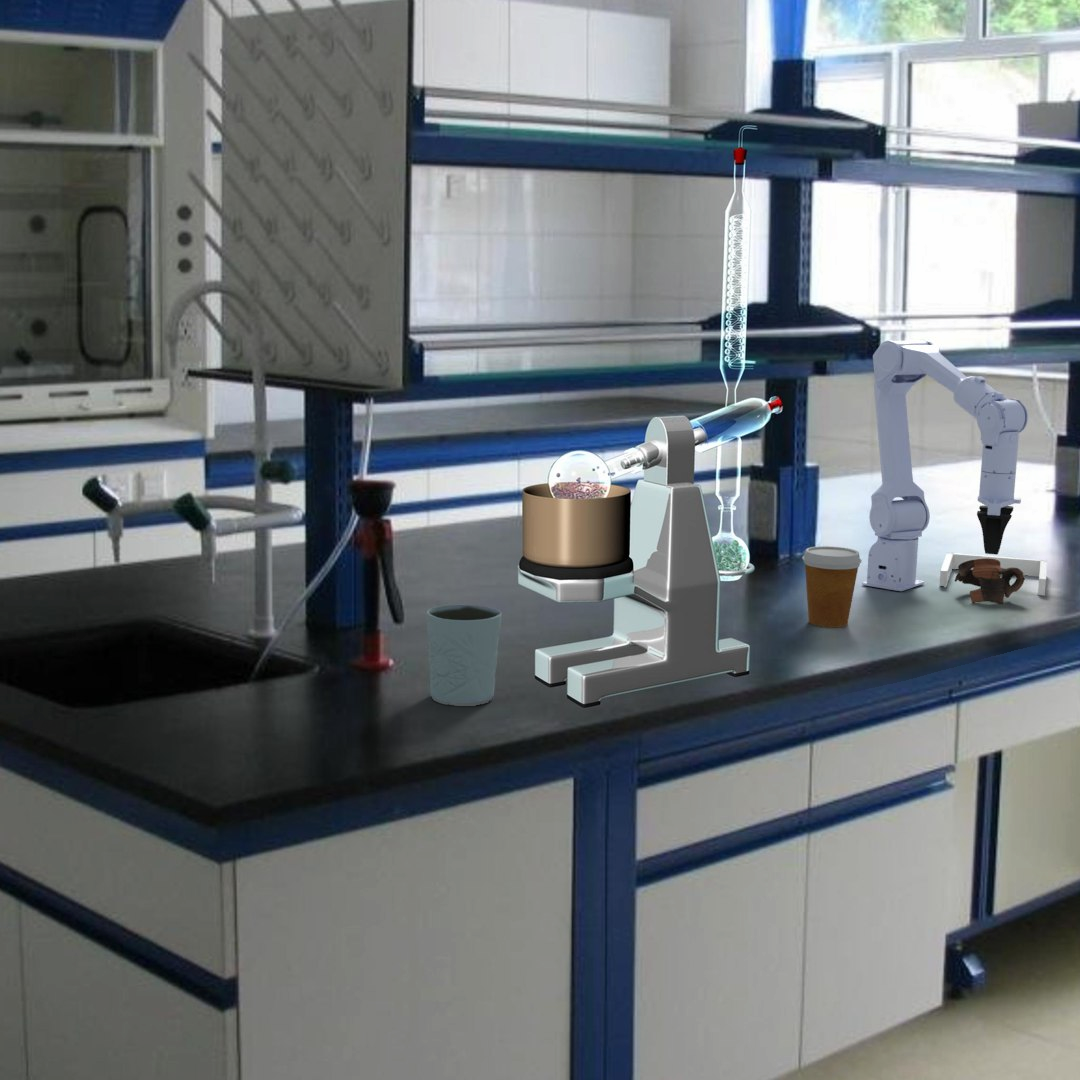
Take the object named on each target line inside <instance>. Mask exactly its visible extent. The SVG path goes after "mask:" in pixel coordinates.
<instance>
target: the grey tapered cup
mask: <svg viewBox="0 0 1080 1080" xmlns="http://www.w3.org/2000/svg"><path fill="white" fill-rule="evenodd" d="M502 614H503V613H502V611H500V610H499V609H496V608H493V607H490V606H489V607H488V606H484V605H477V604H449V605H448V604H446V605H439V606H435V607H431V608H429V609H428V610H427V611H426V615H425V616H426V626H427V634H428V636H427V639H428V643H429V644H428V662H429V663H428V666H429V683H430V684H429V688H430V691H429V692H430V697H431V696H432V697H433V698H434V699H437V700H440V701H444V702H449V703H474V702H481V701H486V700H489V699H491V698H492V697H493V696H495V685H496V677H495V676H496V670H497V664H498V663H497V660H498V654H499V653H498V648H499V636H500V631H501V625H502V623H501V622H502V616H503V615H502ZM493 698H494V697H493Z"/></svg>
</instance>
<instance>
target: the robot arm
mask: <svg viewBox="0 0 1080 1080" xmlns="http://www.w3.org/2000/svg"><path fill="white" fill-rule="evenodd" d="M872 364H873V372H874V373H873V374H874V385H873V390H874V403H875V416H876V426H877V427H876V428H877V436H878V437H877V438H878V439H877V441H878V449H879V451H878V452H879V460H880V461H879V462H880V471H881V472H880V474H881V483H882V484H880V486H879V487H878V488H877V489H875V491H874V492H873V493H872V495H871V496H870V498H871V499H870V500H871V506H870V507H871V508H870V511H869V517H868V518H869V524H870V526H871V529H872V530H873V532H874V536H876V537H877V540H876V542H875V543H874V544H872V546H870V549H869V550H868V557H867V570H866V571H867V572H866V573H867V574H866V581H863V582H861V585H862V586H866V587H867V586H868V587H874V588H879V589H885V590H891V591H896V592H903V591H906V590H909V589H912V588H915V587H919V586H922V585H924V584H925V581H924V580H921V579H920V580H919V579H917V565H918V551H919V537H922V534H923V532H924V531H925V530H926V529H927V528H928V525H929V523H930V518H931V517H930V510H929V507H928V504H927V502H926V499H925V492H924V490H923V489H922V488H921V487H920V486H919V485H918V484H916V482H914V477H913V465H912V464H913V463H912V458H911V457H912V455H911V453H912V452H911V443H910V432H909V422H908V411H907V409H908V408H907V398H906V396H907V394H908V393H909V391H910V390H911V388H912V387H913V386H915V385H916V384H917V383H920V381H922V380H923V379H924V378H926V377H927V376H928V377H929V378H930V379H932V380H934V381H935V382H937V383H938V384H940V385H941V386H943V387H944V388H946V389H947V390H948V391H950V392H951V393H953V400H954V402H955V404H956V405H958V406H959V407H960V408H961V409H962V410H964V411H965V412H967V413H968V414H969V415H970V416H971V417H973V418H974V419H975V420H976V423H977V427H978V428H979V429H978V430H979V431H980V441H981V444H982V452H981V453H982V454H981V465H980V478H979V479H980V480H979V489H978V490H979V494H978V495H977V502H978V503H980V504H982V505H980V506H979V507H978V509H979V510H977V512H976V516H977V519H978V521H979V523H980V527H981V532H982V538H983V549H984V553H985V554H986V555H995V556H996V555H999V552H1000V549H1001V545H1002V541H1003V537H1004V533H1005V530H1006V528H1007V526H1008V524H1009V522H1010V520H1011V518H1012V517H1013V516H1012V513H1013V511H1014V506H1012V505H1014V504H1015V505H1016V504H1019V505H1020V504H1021V502H1022V498H1021V497H1015V487H1016V477H1017V475H1016V474H1017V465H1018V464H1017V463H1018V449H1019V438H1020V433H1021V432H1023V431H1024V430H1025V429H1026V427H1027V424H1028V420H1029V414H1028V410H1027V408H1026V406H1025V405H1024V403H1022V401H1021V399H1018V398H1009V399H1008V398H1007V397H1005V396H1004V393H1003V392H1001V391H997V390H995V388H993V387H991V385H989V384H988V383H986V381H987V380H986V378H984V376H982V375H981V376H976V375H971V376H966V375H965V374H964V373H963V372H962V371H961V370H959V368H957V367H956V366H955V365H954V364H953V363H951V361H949V359H947V358H946V357H945V356H944V355H942V353H941V349H940V347H939V346H937V345H935V344H934V343H933V342H931V341H930V340H927V339H920V340H885V341H883V342H881V344H880V345H879V346H878V348H876V350H875V352H874V353H873V355H872ZM895 498H901V499H898V500H897V499H896V500H895Z"/></svg>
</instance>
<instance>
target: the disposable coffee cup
mask: <svg viewBox="0 0 1080 1080" xmlns="http://www.w3.org/2000/svg"><path fill="white" fill-rule="evenodd" d="M801 559H802V561H803V564H804V569H805V586H806V598H807V599H806V600H807V611H808V613H807V614H808V615H807V616H808V623H809V624H810V623H811V624H810V625H812V626H816V625H817V626H816V627H820V626H822V628H833V627H836V628H842V626H843V627H847V625H848V623H849V619H850V618H849V617H850V613H851V608H852V603H853V597H854V590H855V585H856V581H857V576H858V575H857V574H858V570H859V567H860V566H861V565H860V564H861V563H862V562H863V561H862V559H861V558H860V553H859V551H858V550H856V549H852V548H848V547H843V546H842V547H840V546H829V545H828V546H826V545H825V546H821V545H819V546H810V547H807V548H805V552H804V555H802V558H801Z"/></svg>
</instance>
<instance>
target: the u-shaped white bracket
mask: <svg viewBox="0 0 1080 1080" xmlns="http://www.w3.org/2000/svg"><path fill="white" fill-rule="evenodd" d="M984 558H985V559H986V558H989V559H996V560H998V561H1000V567H1002V568H1003V569H1007V568H1012V567H1014V568H1018V569H1020V570H1021V571H1022V572H1023V576H1025V575H1028V576H1027V577H1038V588H1037V589H1038V590H1037V596H1046V586H1047V585H1046V584H1047V571H1048V570H1047V569H1048V560H1047V559H1034V558H1024V557H1023V558H1022V557H1010V556H1009V557H1008V556H996V555H983V554H981V555H980V554H970V553H958V552H946V555H945V558H944V560H943V562H942V565H941V569H940V574H939V575H940V576H939V586H946V587H947V586H948V583H949V581H950V577H951V575H952V572H953V570H952V569H958V566H959V565H960V564H961V563H963V562H966V561H970V560H976V559H984ZM970 570H973V568H972V569H970ZM949 576H950V577H949Z"/></svg>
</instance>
